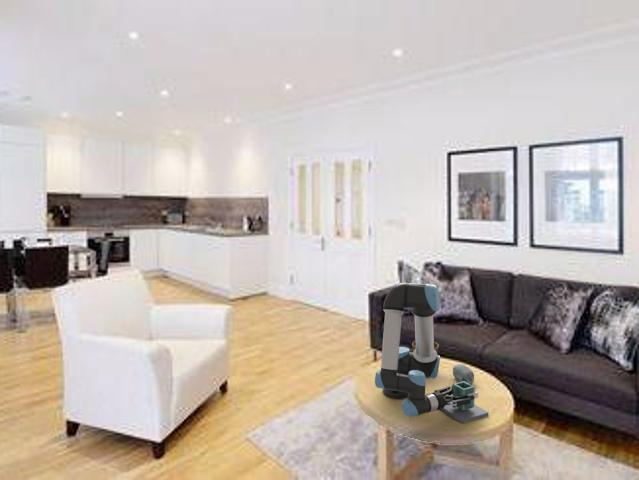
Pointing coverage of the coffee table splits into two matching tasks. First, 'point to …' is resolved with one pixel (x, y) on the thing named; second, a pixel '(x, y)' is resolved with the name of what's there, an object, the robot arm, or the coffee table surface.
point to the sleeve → (463, 393)
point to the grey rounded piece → (463, 374)
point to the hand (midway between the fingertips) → (471, 391)
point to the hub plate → (465, 413)
